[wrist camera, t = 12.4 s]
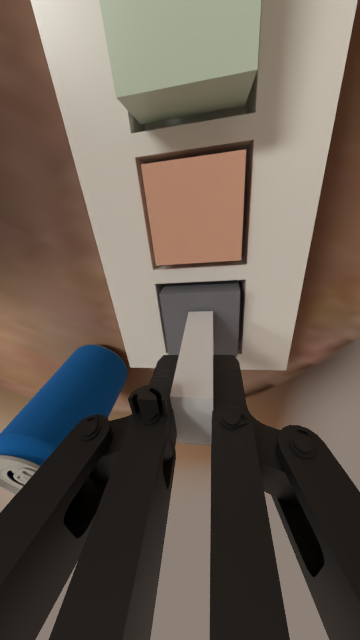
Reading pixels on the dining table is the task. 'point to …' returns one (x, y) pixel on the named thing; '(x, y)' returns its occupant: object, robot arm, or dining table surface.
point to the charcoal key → (202, 298)
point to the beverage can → (59, 411)
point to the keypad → (197, 140)
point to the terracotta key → (196, 207)
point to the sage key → (181, 54)
